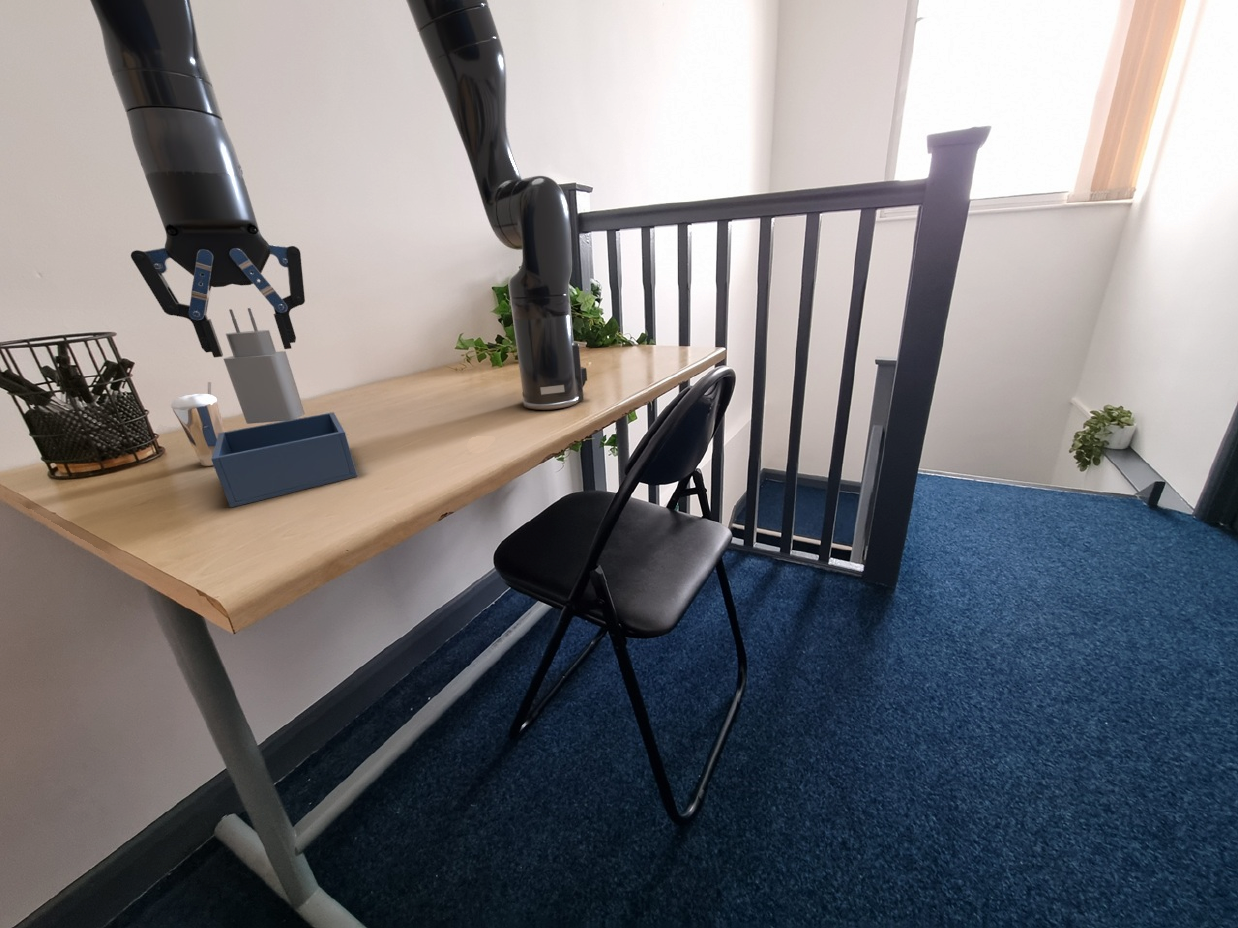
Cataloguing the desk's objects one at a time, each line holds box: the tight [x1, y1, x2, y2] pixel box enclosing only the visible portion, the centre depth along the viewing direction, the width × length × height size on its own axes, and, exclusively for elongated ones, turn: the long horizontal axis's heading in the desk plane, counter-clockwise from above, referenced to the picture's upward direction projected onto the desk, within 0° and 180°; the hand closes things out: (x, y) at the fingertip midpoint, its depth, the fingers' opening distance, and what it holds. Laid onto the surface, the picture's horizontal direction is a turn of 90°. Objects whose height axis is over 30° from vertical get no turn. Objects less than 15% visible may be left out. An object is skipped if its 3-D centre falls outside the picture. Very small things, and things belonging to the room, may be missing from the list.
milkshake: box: [170, 381, 226, 467], centre depth 64 cm, size 4×5×10 cm
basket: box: [211, 411, 358, 508], centre depth 58 cm, size 12×11×6 cm
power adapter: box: [223, 307, 306, 425], centre depth 54 cm, size 3×5×12 cm, turn 95°
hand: (254, 351), depth 54 cm, fingers closed on power adapter, 5 cm apart
